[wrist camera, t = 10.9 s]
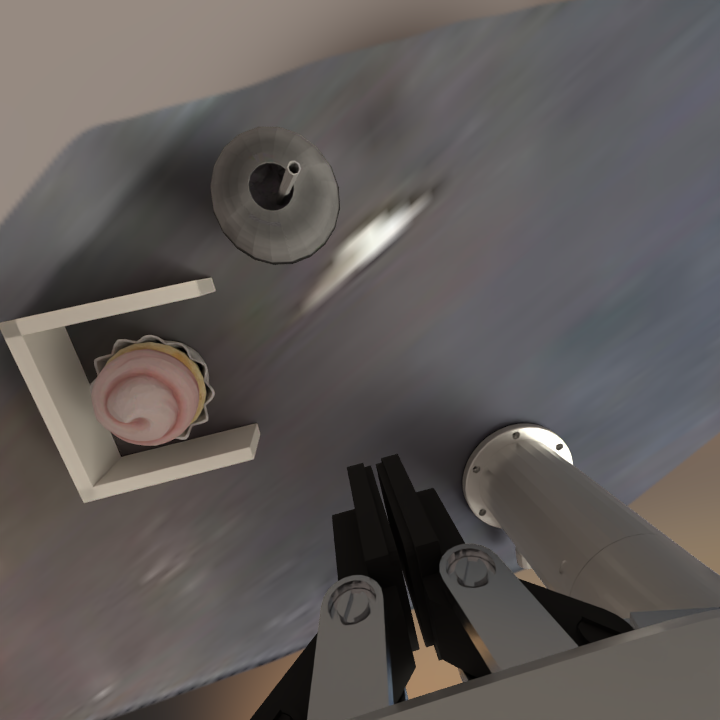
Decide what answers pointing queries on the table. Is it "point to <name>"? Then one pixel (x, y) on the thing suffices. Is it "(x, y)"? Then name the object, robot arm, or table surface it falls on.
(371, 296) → the table surface
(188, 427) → the cupcake
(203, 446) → the box
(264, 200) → the beverage cup
